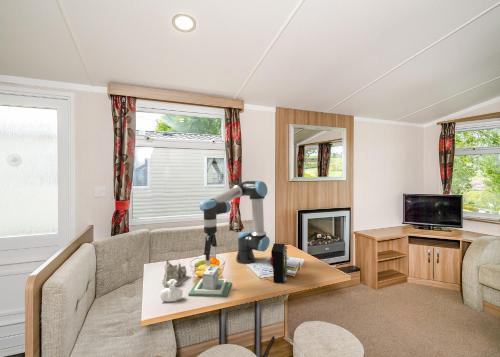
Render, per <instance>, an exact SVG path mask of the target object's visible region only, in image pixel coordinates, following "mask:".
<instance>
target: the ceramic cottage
mask: <svg viewBox="0 0 500 357" xmlns="http://www.w3.org/2000/svg"><path fill="white" fill-rule="evenodd" d="M165 263H166V264H165V265H164V276H163V279H162V285H163V287H164V289H166V288H169V286H168V285H169V283H168V284H167V283H166V282H168V281H169V280H171V279H175V280H176V281H177V283H176V285H175V287H178V286H180V285H181V284H182V283H184V282H186V280H188V276H187V267H186V265H183V266H182V264H181V263H180V262H179V263H178V265H177V264H174V265H173V264H171V263H170V261H169V258H166V259H165Z"/></svg>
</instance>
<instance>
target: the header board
mask: <svg viewBox="0 0 500 357" xmlns="http://www.w3.org/2000/svg"><path fill="white" fill-rule="evenodd" d="M231 285H232V281H227V279H226V278H219V284H218V286H217V287H216V289H215V290H203V278H201V279H200V280H197V281H196V282H195V284H194V285H193V286H192V288H191V290H190V291H189V292H188V296H190V297H215V298H216V297H219V298H223V297H224V298H227V296H228V294H229V292H230V289H231Z"/></svg>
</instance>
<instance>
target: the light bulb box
mask: <svg viewBox="0 0 500 357" xmlns="http://www.w3.org/2000/svg"><path fill="white" fill-rule="evenodd" d="M219 277H220V276H219V266H207V268H206V269H205V270H204V272H202V279H203V290H215V289H216V287H217V286H218V284H219V279H220V278H219Z"/></svg>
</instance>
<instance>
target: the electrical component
mask: <svg viewBox="0 0 500 357" xmlns="http://www.w3.org/2000/svg"><path fill="white" fill-rule="evenodd" d="M287 250H288V246H287V245H286V244H285V243H273V245H272V248H271V252H270V253H271V254H270V255H271V256H270V257H269V258H270V264H271V266H272V273H273V276H272V277H273V284H285V282H287V281H288V278H287V273H288V272H287V271H288V252H287Z"/></svg>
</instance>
